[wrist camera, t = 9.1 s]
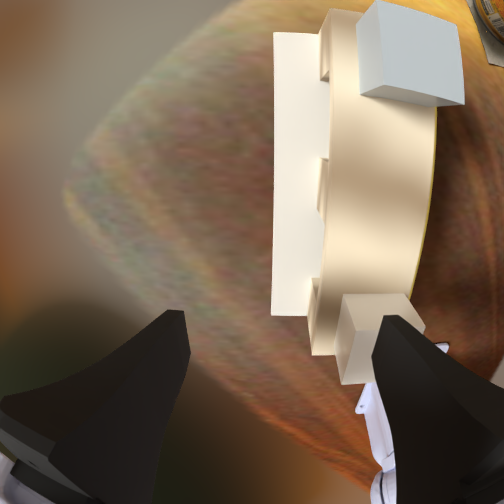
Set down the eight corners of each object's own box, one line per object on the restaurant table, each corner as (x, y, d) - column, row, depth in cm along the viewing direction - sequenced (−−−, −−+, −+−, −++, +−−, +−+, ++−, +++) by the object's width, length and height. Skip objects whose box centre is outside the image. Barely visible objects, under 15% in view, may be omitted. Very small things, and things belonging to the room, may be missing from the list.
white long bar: (374, 315, 19) (390, 351, 15) (307, 315, 19) (312, 355, 16) (399, 47, 12) (429, 30, 8) (318, 34, 12) (330, 8, 9)
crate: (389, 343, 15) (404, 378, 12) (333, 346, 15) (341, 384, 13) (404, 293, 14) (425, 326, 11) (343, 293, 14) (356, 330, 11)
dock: (396, 299, 21) (405, 314, 19) (271, 299, 21) (270, 316, 20) (420, 62, 14) (434, 57, 12) (273, 42, 14) (273, 31, 12)
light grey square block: (428, 107, 10) (464, 104, 7) (359, 94, 10) (383, 84, 8) (424, 40, 9) (456, 24, 6) (355, 24, 9) (376, -1, 6)
